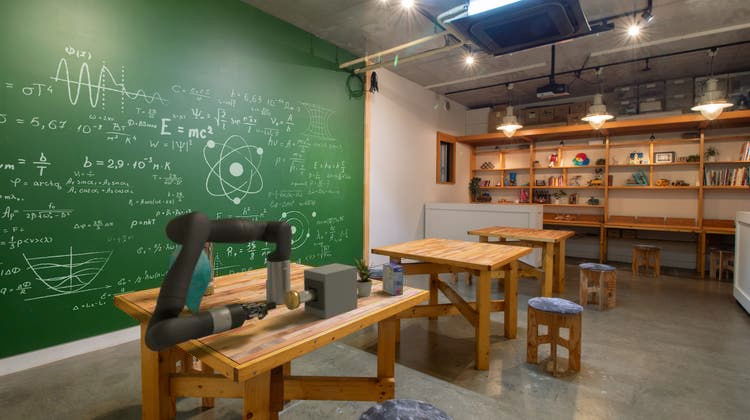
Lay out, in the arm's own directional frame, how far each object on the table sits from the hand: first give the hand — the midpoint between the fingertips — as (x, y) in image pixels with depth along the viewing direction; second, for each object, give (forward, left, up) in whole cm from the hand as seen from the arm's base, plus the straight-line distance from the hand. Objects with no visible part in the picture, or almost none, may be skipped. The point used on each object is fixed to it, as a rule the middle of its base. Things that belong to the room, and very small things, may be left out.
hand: (274, 304), depth 121 cm
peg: (+9, +9, -3) cm, 14 cm away
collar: (+12, +12, -5) cm, 17 cm away
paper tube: (-40, +44, -8) cm, 60 cm away
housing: (+17, +17, -8) cm, 26 cm away
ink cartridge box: (+43, +39, -8) cm, 59 cm away
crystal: (-35, +20, -8) cm, 42 cm away
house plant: (+29, +37, -8) cm, 48 cm away
